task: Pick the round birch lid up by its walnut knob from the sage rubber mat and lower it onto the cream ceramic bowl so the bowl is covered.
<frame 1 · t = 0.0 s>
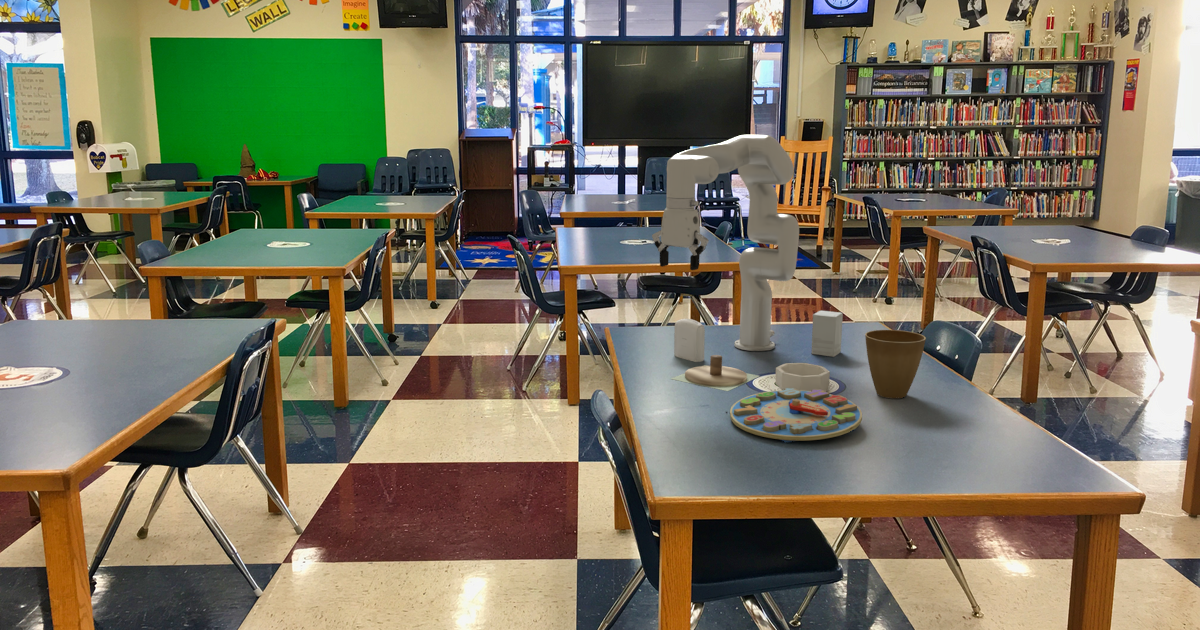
hand: (679, 267, 238), 31 cm above the table, fingers open, 9 cm apart
mat: (715, 379, 244), on the table
plant pot: (890, 395, 231), on the table
lid: (715, 377, 244), point 1 cm above the table, touching mat
bowl: (801, 387, 237), on the table
shape sorting clock: (794, 424, 210), on the table
photo printer: (688, 360, 265), on the table
supplement box: (825, 353, 272), on the table
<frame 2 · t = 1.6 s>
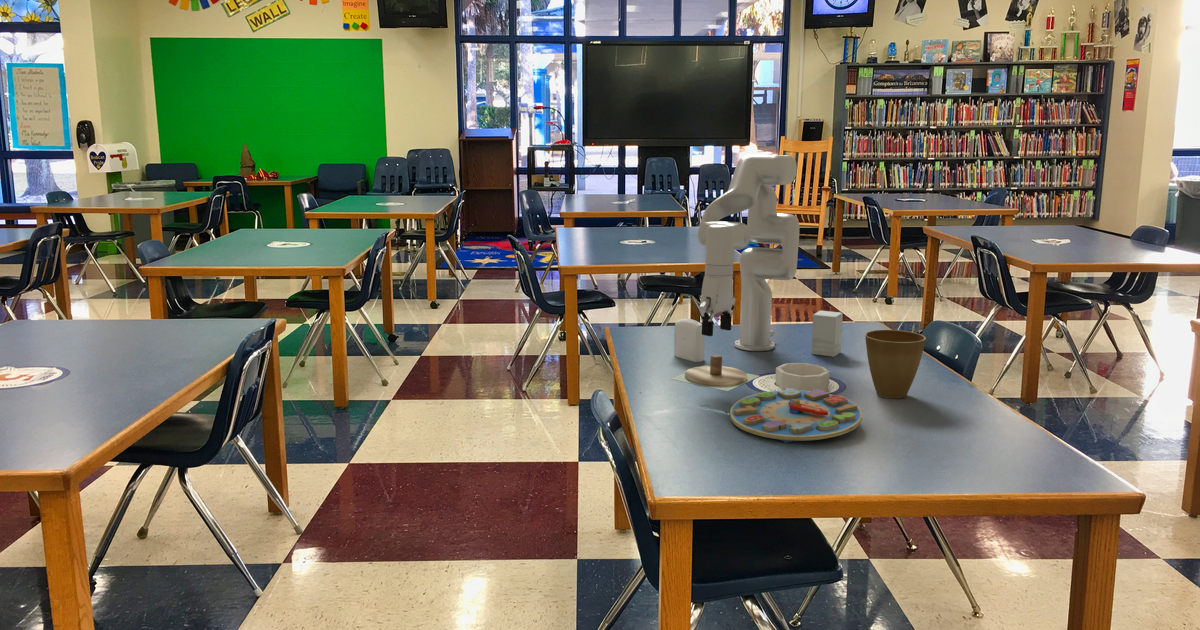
hand: (716, 332, 241), 14 cm above the table, fingers open, 9 cm apart
nothing on the table moved.
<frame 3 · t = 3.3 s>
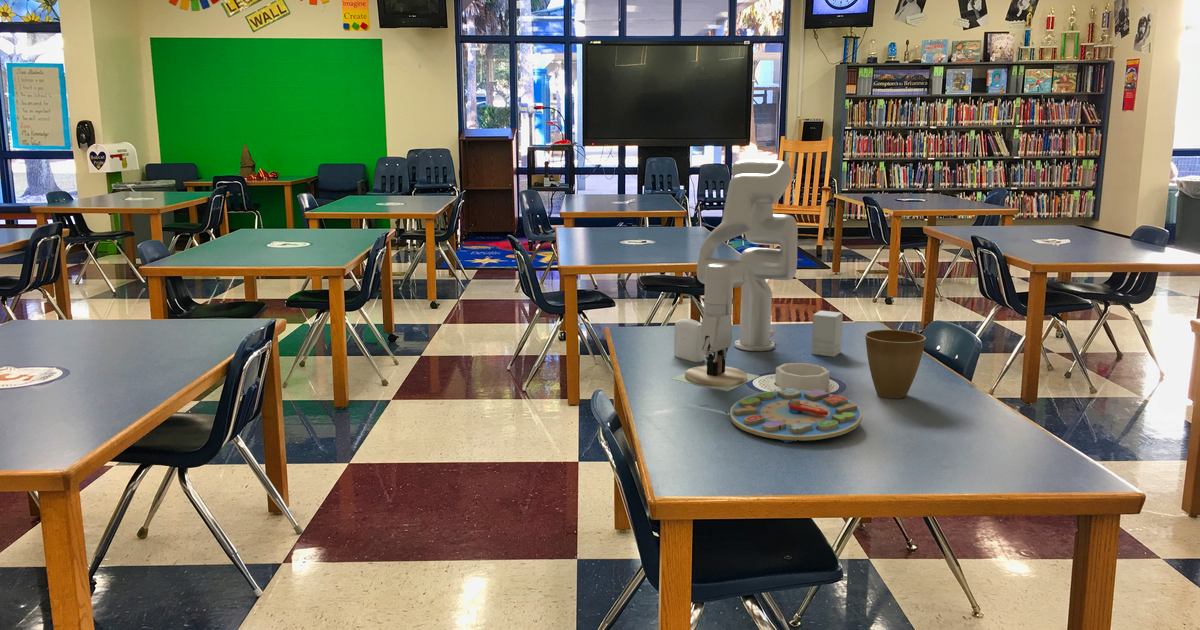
hand: (715, 373, 244), 2 cm above the table, fingers closed on lid, 3 cm apart
lid: (715, 377, 244), point 1 cm above the table, touching gripper, mat
everything else where it was.
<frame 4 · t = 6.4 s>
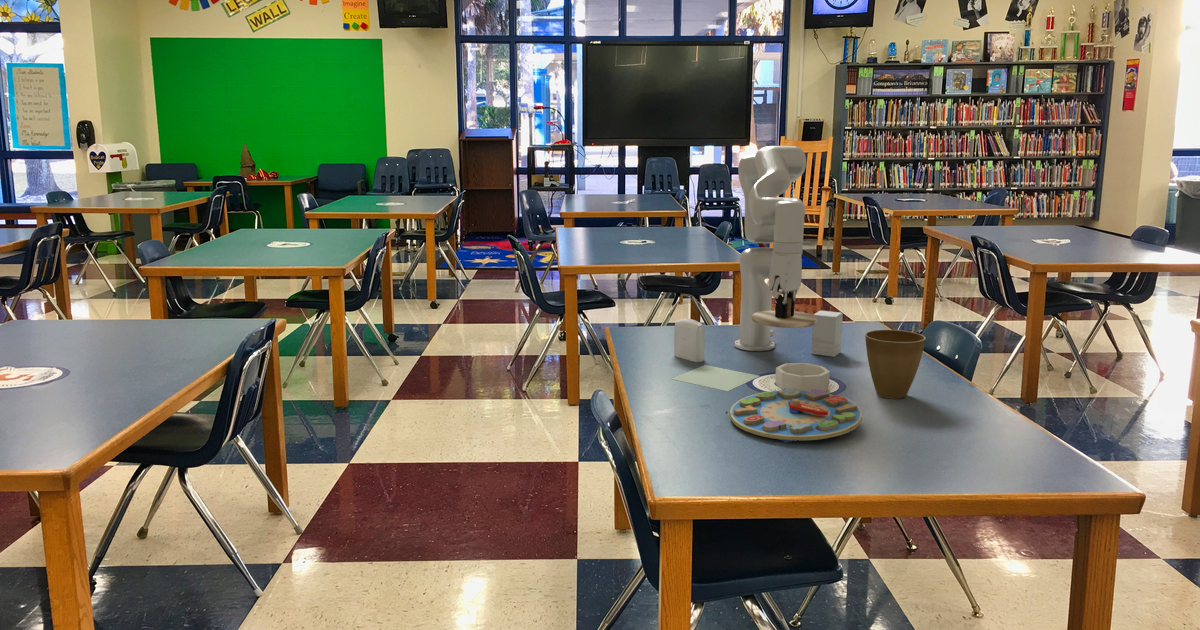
hand: (784, 316, 235), 19 cm above the table, fingers closed on lid, 3 cm apart
lid: (784, 320, 235), point 18 cm above the table, touching gripper
everything else where it was.
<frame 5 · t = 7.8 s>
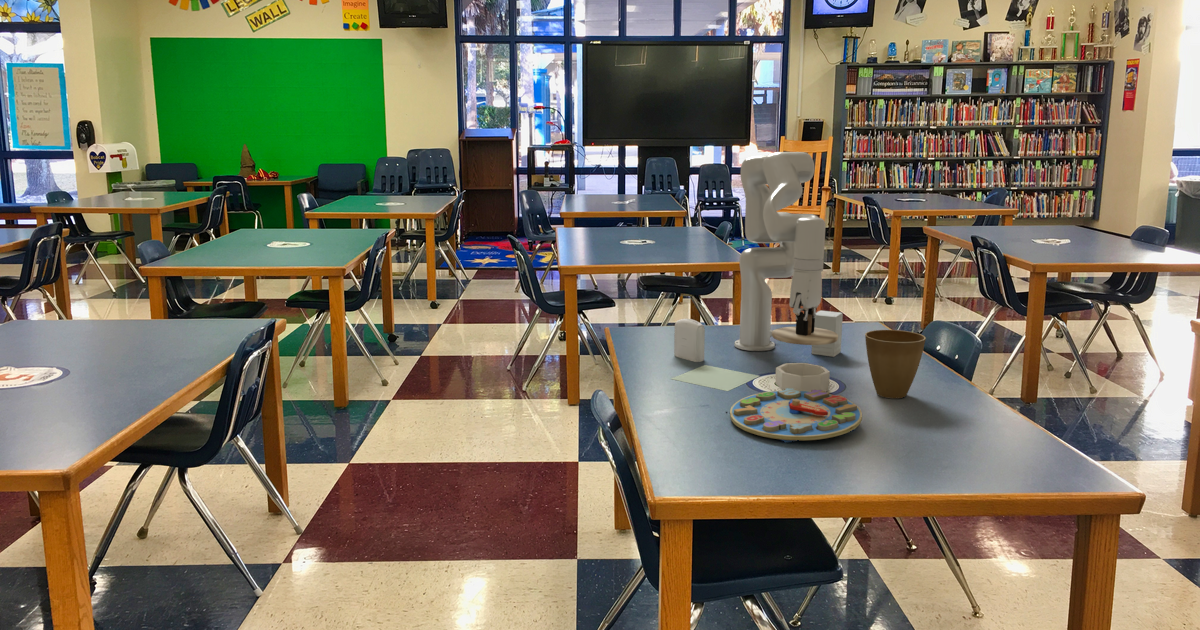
hand: (804, 332, 234), 15 cm above the table, fingers closed on lid, 3 cm apart
lid: (804, 337, 234), point 14 cm above the table, touching gripper
everything else where it was.
when the fingers open (8 cm above the table, at t = 9.3 s): lid drops 1 cm, resting on bowl.
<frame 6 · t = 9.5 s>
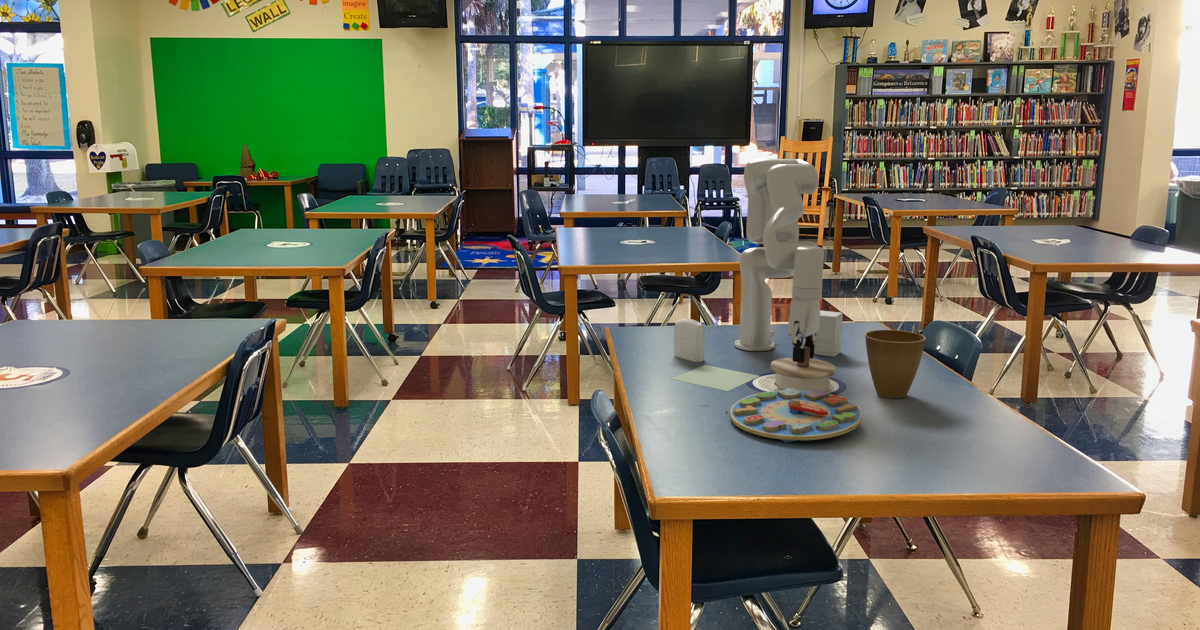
hand: (803, 359, 235), 8 cm above the table, fingers open, 5 cm apart
lid: (802, 369, 236), point 5 cm above the table, touching bowl
everything else where it was.
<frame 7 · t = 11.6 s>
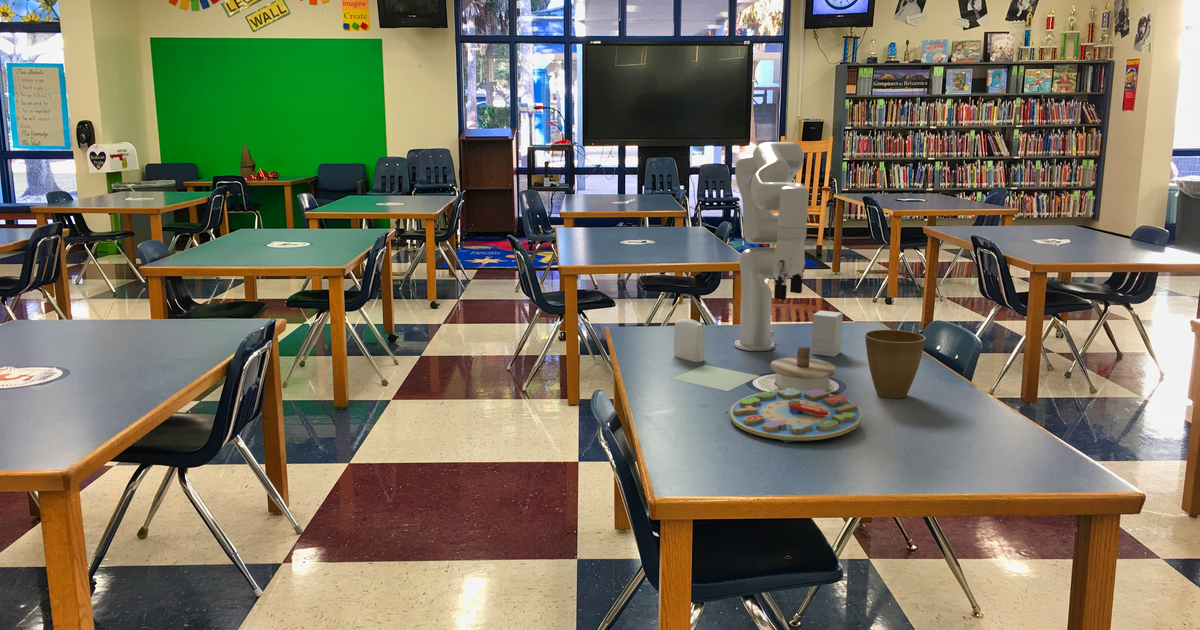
hand: (788, 295, 238), 24 cm above the table, fingers open, 9 cm apart
nothing on the table moved.
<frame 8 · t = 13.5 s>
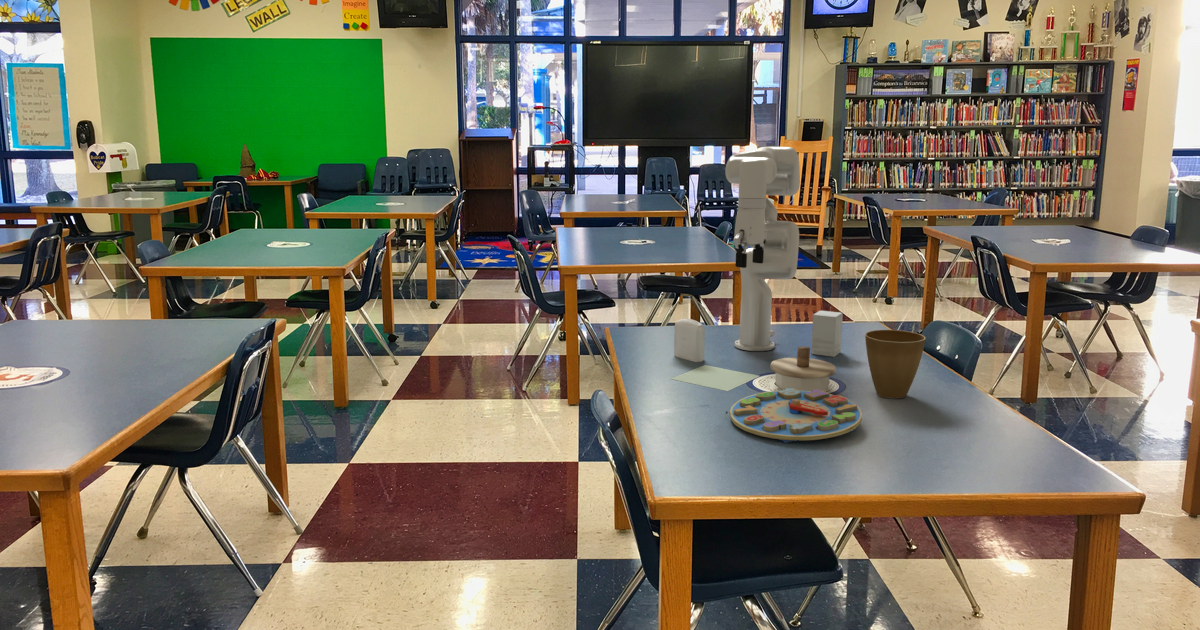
hand: (749, 265, 249), 30 cm above the table, fingers open, 9 cm apart
nothing on the table moved.
at the end: lid 0.1 cm off-centre on the bowl, point 5.0 cm above the bowl's base; lid tilted 0°; the gripper is holding nothing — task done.
